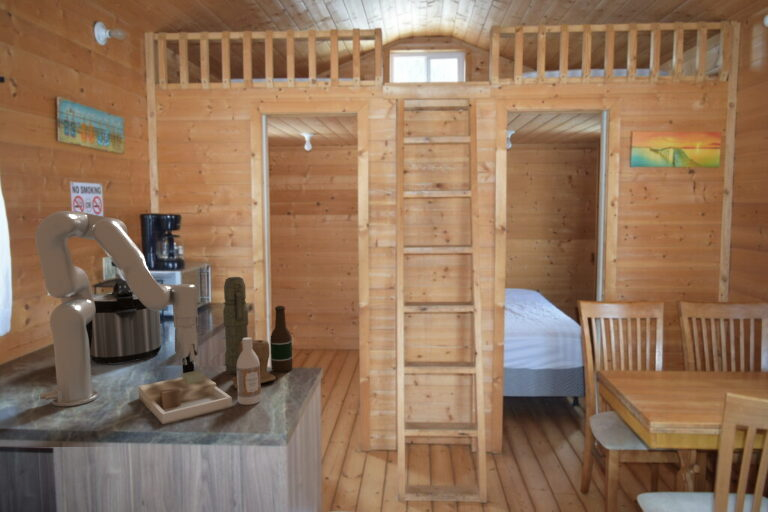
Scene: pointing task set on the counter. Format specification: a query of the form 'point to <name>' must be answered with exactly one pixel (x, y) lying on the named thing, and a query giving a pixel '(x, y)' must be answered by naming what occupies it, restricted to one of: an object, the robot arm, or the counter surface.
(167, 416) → the box
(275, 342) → the beer bottle
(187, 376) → the sage tile
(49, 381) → the counter surface
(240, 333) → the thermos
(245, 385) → the bath foam
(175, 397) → the walnut tile
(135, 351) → the pressure cooker
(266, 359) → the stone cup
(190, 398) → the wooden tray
